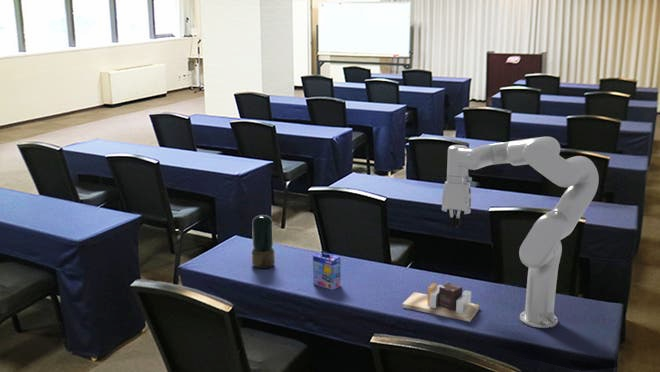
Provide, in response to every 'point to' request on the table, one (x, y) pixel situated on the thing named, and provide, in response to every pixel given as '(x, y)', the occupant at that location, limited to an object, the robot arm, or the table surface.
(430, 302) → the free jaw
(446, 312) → the vise base
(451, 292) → the box
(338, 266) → the ink cartridge box
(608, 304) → the table surface
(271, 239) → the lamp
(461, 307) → the fixed jaw
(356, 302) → the table surface
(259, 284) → the table surface
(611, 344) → the table surface
